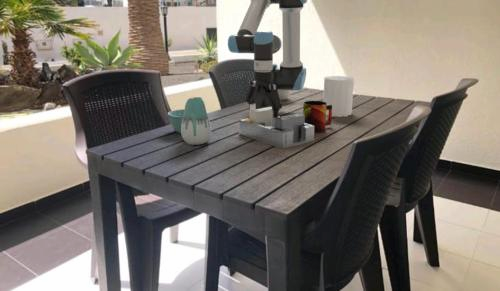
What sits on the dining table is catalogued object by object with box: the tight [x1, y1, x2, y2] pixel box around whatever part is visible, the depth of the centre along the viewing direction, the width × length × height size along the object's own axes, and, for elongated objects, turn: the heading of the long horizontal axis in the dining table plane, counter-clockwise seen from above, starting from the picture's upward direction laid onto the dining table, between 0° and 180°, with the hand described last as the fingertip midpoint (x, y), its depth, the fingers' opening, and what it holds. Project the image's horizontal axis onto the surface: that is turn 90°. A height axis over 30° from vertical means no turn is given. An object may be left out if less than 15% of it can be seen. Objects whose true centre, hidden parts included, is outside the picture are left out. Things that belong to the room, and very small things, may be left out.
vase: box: [180, 96, 212, 146], centre depth 157 cm, size 12×12×18 cm
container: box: [322, 75, 355, 118], centre depth 204 cm, size 14×14×18 cm
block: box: [248, 107, 272, 127], centre depth 171 cm, size 4×12×9 cm, turn 130°
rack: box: [238, 113, 316, 150], centre depth 165 cm, size 27×17×10 cm, turn 39°
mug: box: [302, 100, 333, 134], centre depth 176 cm, size 10×14×12 cm
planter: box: [277, 90, 292, 101], centre depth 241 cm, size 17×17×15 cm
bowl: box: [167, 108, 185, 134], centre depth 174 cm, size 16×16×8 cm
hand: (262, 122), depth 171 cm, fingers open, 13 cm apart
